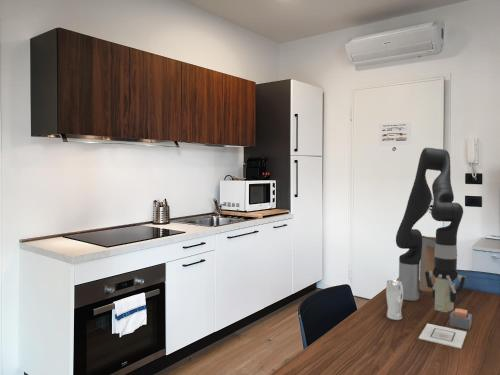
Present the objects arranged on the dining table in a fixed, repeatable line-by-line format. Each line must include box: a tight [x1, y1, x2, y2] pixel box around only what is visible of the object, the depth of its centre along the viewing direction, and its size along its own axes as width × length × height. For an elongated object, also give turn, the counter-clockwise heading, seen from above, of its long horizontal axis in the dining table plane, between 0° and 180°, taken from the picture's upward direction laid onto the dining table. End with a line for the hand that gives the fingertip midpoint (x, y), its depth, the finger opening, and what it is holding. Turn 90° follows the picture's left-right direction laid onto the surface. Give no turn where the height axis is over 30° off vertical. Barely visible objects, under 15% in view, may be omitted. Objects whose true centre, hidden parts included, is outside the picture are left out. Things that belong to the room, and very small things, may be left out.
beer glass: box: [385, 279, 404, 321], centre depth 168 cm, size 7×7×15 cm
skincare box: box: [434, 278, 455, 313], centre depth 149 cm, size 6×4×12 cm
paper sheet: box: [418, 323, 467, 350], centre depth 150 cm, size 14×16×1 cm
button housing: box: [448, 310, 473, 331], centre depth 160 cm, size 7×7×4 cm
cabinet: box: [419, 235, 456, 297], centre depth 195 cm, size 21×10×28 cm, turn 17°
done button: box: [453, 307, 468, 318], centre depth 160 cm, size 4×4×2 cm
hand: (444, 300), depth 149 cm, fingers closed on skincare box, 5 cm apart
